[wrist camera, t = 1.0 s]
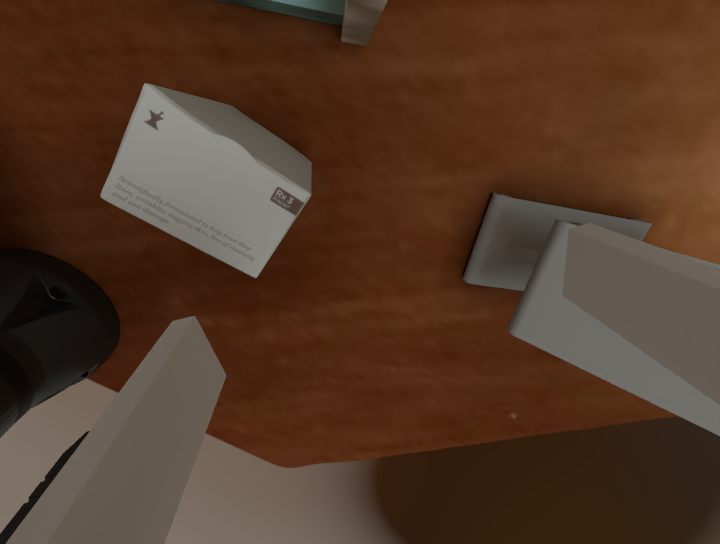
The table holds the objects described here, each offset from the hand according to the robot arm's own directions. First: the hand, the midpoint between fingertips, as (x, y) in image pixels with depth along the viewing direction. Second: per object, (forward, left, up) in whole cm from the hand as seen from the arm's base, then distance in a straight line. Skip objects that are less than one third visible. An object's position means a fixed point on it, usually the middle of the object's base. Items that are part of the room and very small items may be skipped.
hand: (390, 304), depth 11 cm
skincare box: (-8, +2, -21) cm, 23 cm away
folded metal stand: (+23, -3, -21) cm, 31 cm away
